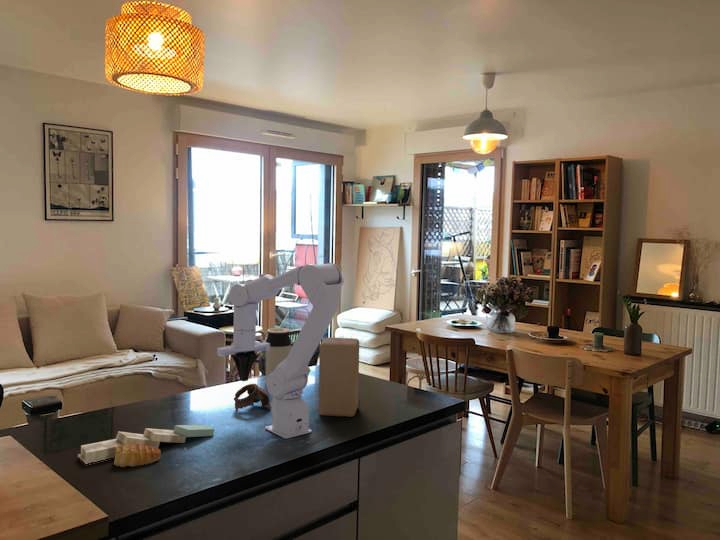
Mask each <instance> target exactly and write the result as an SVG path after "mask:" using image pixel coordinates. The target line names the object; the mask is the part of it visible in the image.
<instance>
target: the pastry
mask: <svg viewBox="0 0 720 540" xmlns="http://www.w3.org/2000/svg"><path fill="white" fill-rule="evenodd" d="M161 453H162V452H161V449H160V448H159V447H158V448H156V447H151V446H147V445H138V444H136V443H135V444H132V445H131V444H126V445H124V446H121V445H118V446H117V447H116V454H115V458H114V461H113V465H114V466H116V467H119V466H120V467H119V468H126V467H127V466H129V467H130V468H131V467H137V466H143V465H144V464H145V465H149V463H150V464H152V463H154V462H156V461H157V462H158V461H159V460H160V459H161ZM145 465H144V466H145Z"/></svg>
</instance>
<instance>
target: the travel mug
mask: <svg viewBox="0 0 720 540" xmlns="http://www.w3.org/2000/svg"><path fill="white" fill-rule="evenodd" d="M266 332H267V337H266V339H265V342H267V343H270V350H269V351H265V380H266V379H267V376H268V375H269V374H270V373H272V372H273V371H274V370H275V368H276V366H277V365H279V364H280V363H281V362H282V361H284V360H285V359H286V358H287V356H288V354H289V352H290V350H291V348H292V340H291V339H292V338H291V337H290V333H291V329H289V328H286V327H273V328H272V327H271V328H268V329H267V330H266Z"/></svg>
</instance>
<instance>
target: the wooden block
mask: <svg viewBox="0 0 720 540" xmlns="http://www.w3.org/2000/svg"><path fill="white" fill-rule="evenodd" d="M318 363H319V364H318V365H319V366H318V367H319V370H318V413H319V415H321V416H326V417H327V416H328V417H345V416H346V417H347V418H352V417H355V415H356V412H357V409H358V406H359V376H360V339H358V338H351V337H350V338H349V337H326V338H324V339H323V341H321V342H320V343H319V361H318Z"/></svg>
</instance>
